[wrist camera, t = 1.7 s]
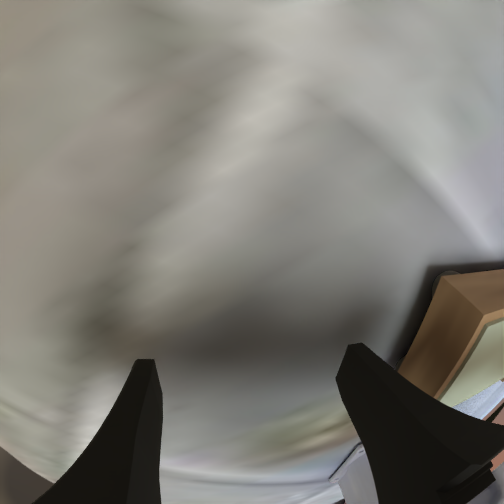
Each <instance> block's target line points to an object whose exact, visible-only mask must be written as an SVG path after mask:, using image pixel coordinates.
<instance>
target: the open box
mask: <svg viewBox="0 0 504 504" xmlns="http://www.w3.org/2000/svg"><path fill="white" fill-rule="evenodd" d="M432 296H433V299H432V301H431V304H430V306H429V308H428V311H427V313H426V315H425V317H424V320H423V322H422V324H421V326H420V328H419V331H418V333H417V335H416V337H415V339H414V341H413V343H412V345H411V347H410V349H409V351H408V353H407V355H406V356H404V357H403V358H401V359H400V360H399V362H398V363H397V365H396V368H395V370H396V371H397V372H398V373H399V374H401V375H402V376H403V377H404V378H406V379H407V380H408V381H410V382H411V383H412V384H414V385H415V386H417V387H418V388H419V389H421V390H422V391H424V392H425V393H427V394H428V395H430V396H432V397H433V398H435V399H437V400H438V401H440V402H442V403H443V404H445V405H447V406H449V407H451V408H452V407H454V406H456V405H458V404H460V403H461V402H463V401H465V400H467V399H469V398H471V397H472V396H474V395H476V394H478V393H479V392H481V391H483V390H485V389H486V388H488V387H490V386H491V385H493V384H494V383H496V382H498V381H499V380H501V379H502V378H504V268H503V269H500V270H492V271H483V272H475V273H466V274H460V273H458V272H456V271H445V272H443V273H441V274H440V275H439V276H438V277H437V278H436V279H435V281H434V283H433V286H432Z"/></svg>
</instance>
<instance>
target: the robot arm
mask: <svg viewBox="0 0 504 504" xmlns="http://www.w3.org/2000/svg"><path fill="white" fill-rule="evenodd" d="M335 379H336V382H337V385H338V389H339V392H340V395H341V398H342V401H343V403H344V405H345V408H346V410H347V412H348V414H349V416H350V418H351V420H352V422H353V425H354V427H355V429H356V431H357V433H358V435H359V437H360V439H361V442H362V444H361V445H359V446H358V447H357V448H356V449H355V450H354V452H353V453H352V454H351V455H350V456H349V458H348V459H347V460H346V461H345V462H344V464H343V465H342V466H341V467H340V468H339V469H338V471H337V472H336V473H335V474H334V475H333V476H332V477H331V478H330V480H329V483H335V482H338V483H339V486H340V488H341V491H342V494H343V496H344V499H345V502H346V504H504V462H503V463H502V464H500V465H499V466H498V467H497V468H496V469H495V470H493V472H491V470H490V468H491V467H493V464H492V462H491V460H492V459H493V458H494V457H495V456H497V455H498V454H499V453H500V452H501V451H502V450H504V425H499V424H495V423H491V422H487V421H484V420H481V419H478V418H475V417H472V416H469V415H467V414H464V413H462V412H460V411H458V410H455V409H453V408H451V407H449V406H447V405H445V404H443V403H442V402H440V401H438V400H437V399H435V398H433V397H432V396H430V395H428V394H427V393H425V392H424V391H422V390H421V389H419V388H418V387H417V386H415V385H414V384H412V383H411V382H410V381H408V380H407V379H406V378H404V377H403V376H402V375H401V374H399V373H398V372H397V371H396V370H394V369H393V368H392V367H391V366H389V365H388V364H387V363H386V362H385V361H383V360H382V359H381V358H380V357H379V356H377V355H376V354H375V353H374V352H373V351H371V350H370V349H369V348H368V347H366V346H365V345H364V344H363V343H357V344H351V345H348V347H347V350H346V353H345V355H344V358H343V361H342V363H341V366H340V368H339V371H338V373H337V376H336V378H335ZM162 423H163V399H162V390H161V386H160V382H159V378H158V374H157V370H156V365H155V361H154V359H137V360H136V361H135V363H134V365H133V367H132V370H131V372H130V374H129V376H128V378H127V380H126V382H125V384H124V386H123V388H122V390H121V392H120V394H119V396H118V398H117V400H116V402H115V403H114V405H113V407H112V409H111V411H110V412H109V414H108V416H107V417H106V419H105V421H104V422H103V424H102V426H101V427H100V429H99V430H98V432H97V433H96V435H95V436H94V438H93V439H92V441H91V442H90V443H89V445H88V446H87V447H86V449H85V450H84V451H83V453H82V454H81V455H80V456H79V458H78V459H77V460H76V461H75V463H74V464H73V465H72V466H71V467H70V468H69V469H68V471H67V472H66V473H65V474H64V475H63V476H62V477H61V478H60V479H59V480H58V481H57V482H56V483H55V484H54V485H53V486H52V487H51V488H50V489H49V490H47V491H46V492H45V493H44V494H43V495H42V496H40V497H39V498H38V499H37V500H35V501H34V502H33V503H32V504H161V495H160V482H159V464H160V449H161V436H162Z"/></svg>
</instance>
